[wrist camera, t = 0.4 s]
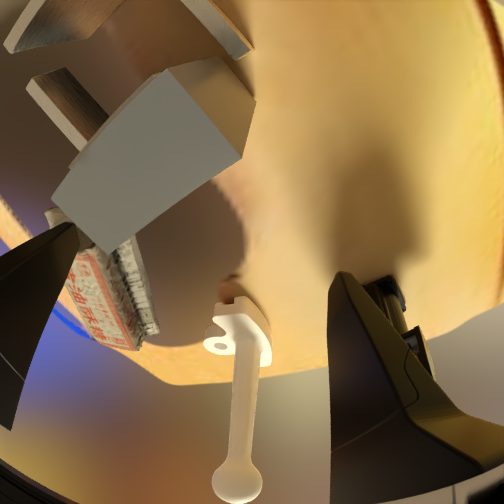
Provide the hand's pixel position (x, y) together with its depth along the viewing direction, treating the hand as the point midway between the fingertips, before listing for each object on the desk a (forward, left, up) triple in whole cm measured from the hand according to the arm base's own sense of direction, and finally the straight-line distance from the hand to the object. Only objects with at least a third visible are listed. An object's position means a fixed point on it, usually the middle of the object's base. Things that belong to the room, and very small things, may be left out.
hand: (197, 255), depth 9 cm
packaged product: (-4, +21, -14) cm, 25 cm away
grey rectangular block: (+3, +2, -13) cm, 13 cm away
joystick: (-18, +14, -13) cm, 26 cm away
